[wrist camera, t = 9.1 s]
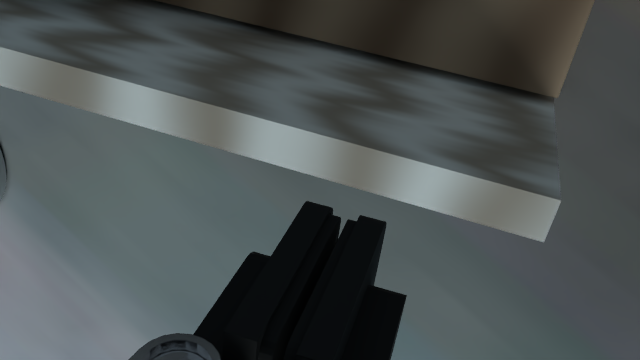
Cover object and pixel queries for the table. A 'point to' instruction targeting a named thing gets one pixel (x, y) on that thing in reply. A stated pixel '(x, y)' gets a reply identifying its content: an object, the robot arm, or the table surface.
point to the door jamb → (328, 88)
